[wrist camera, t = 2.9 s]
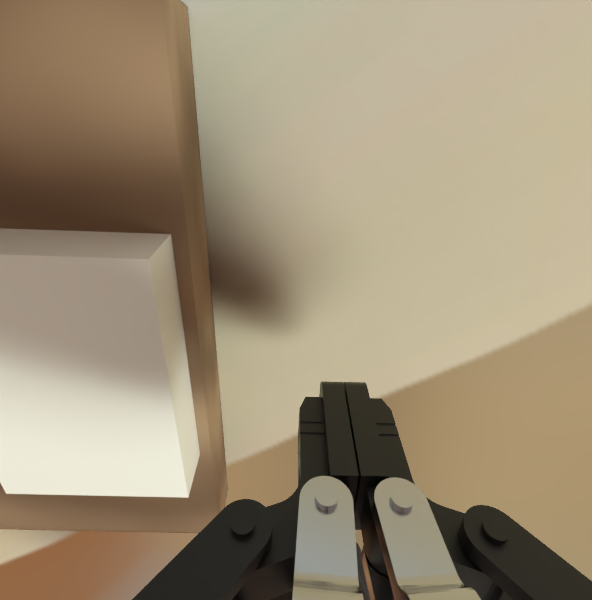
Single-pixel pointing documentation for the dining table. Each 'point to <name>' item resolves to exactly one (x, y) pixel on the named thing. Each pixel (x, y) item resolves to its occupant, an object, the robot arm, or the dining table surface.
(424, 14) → the dining table surface
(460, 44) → the dining table surface
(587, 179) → the dining table surface
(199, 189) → the board
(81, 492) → the plastic block
